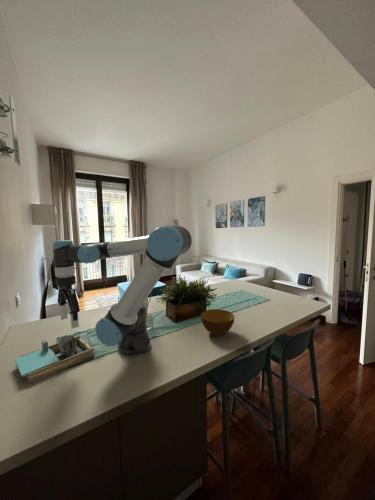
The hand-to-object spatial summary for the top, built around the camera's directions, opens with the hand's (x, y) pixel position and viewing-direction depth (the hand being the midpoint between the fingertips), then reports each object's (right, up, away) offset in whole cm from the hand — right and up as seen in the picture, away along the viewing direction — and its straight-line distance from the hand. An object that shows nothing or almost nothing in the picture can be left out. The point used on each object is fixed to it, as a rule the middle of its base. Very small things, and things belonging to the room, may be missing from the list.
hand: (69, 323), depth 97 cm
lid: (-9, -13, -8) cm, 18 cm away
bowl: (+68, -13, +20) cm, 73 cm away
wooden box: (-4, -15, -2) cm, 16 cm away
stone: (-1, -15, +2) cm, 15 cm away
